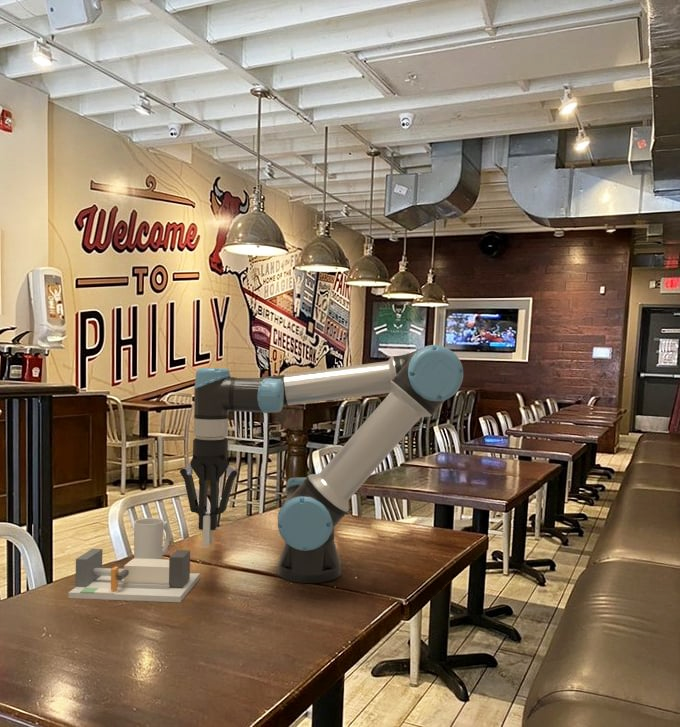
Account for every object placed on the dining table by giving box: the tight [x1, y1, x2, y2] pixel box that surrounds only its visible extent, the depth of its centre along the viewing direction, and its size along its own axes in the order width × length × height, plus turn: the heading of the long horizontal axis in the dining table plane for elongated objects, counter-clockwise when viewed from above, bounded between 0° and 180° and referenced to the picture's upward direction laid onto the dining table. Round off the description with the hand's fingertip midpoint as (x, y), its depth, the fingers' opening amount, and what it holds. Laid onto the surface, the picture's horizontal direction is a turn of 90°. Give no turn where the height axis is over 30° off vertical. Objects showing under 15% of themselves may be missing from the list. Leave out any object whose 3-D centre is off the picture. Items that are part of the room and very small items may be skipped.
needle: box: [111, 566, 120, 590], centre depth 136 cm, size 1×2×4 cm, turn 176°
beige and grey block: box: [117, 549, 191, 587], centre depth 139 cm, size 13×9×6 cm
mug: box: [133, 517, 171, 559], centre depth 155 cm, size 10×7×12 cm, turn 147°
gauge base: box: [68, 548, 201, 603], centre depth 142 cm, size 24×15×7 cm, turn 87°
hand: (207, 544), depth 141 cm, fingers closed
